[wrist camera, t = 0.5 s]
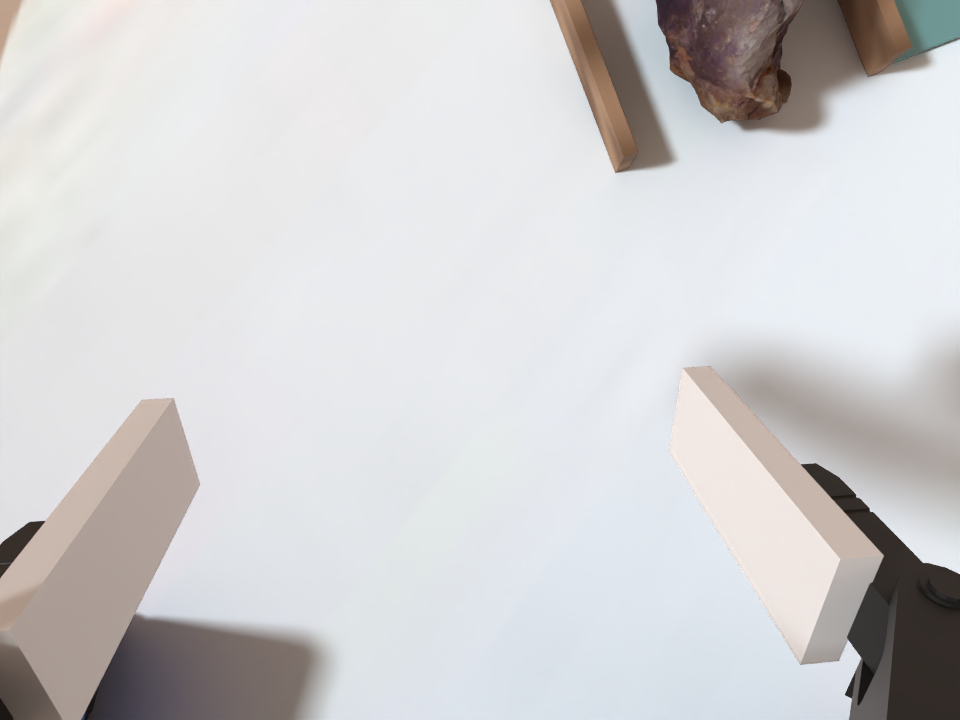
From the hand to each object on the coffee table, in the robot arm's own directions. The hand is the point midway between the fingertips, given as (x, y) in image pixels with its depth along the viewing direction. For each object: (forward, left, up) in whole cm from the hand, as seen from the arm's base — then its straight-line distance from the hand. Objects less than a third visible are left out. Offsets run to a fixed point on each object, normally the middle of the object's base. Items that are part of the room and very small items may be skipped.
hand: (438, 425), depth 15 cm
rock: (+15, -20, -19) cm, 31 cm away
